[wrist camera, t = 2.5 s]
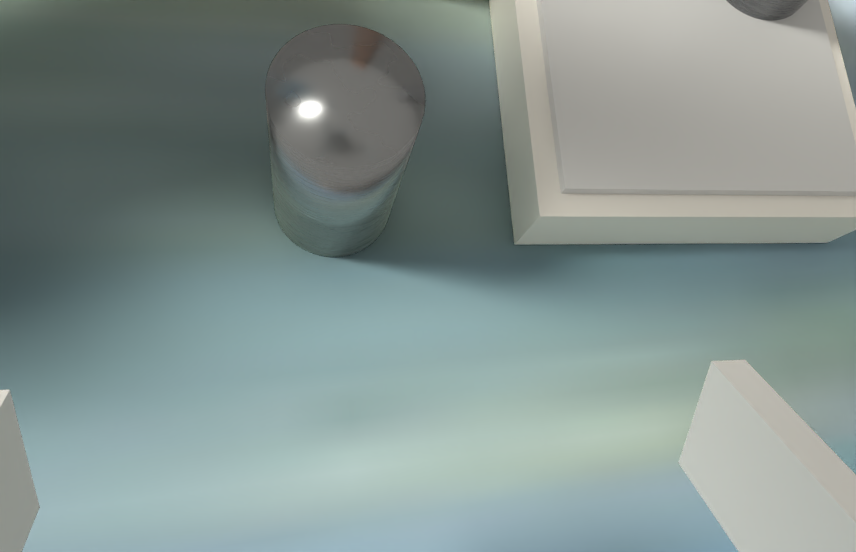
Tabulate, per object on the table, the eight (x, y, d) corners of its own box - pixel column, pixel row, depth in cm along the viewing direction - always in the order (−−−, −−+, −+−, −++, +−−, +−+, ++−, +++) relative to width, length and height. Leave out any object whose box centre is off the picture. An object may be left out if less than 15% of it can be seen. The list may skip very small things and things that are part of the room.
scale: (514, 244, 31) (544, 211, 28) (483, -54, 36) (505, -117, 32) (838, 242, 35) (904, 213, 31) (773, -32, 39) (824, -87, 35)
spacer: (273, 257, 29) (265, 165, 21) (273, 148, 31) (264, 19, 22) (392, 256, 30) (430, 167, 22) (387, 150, 32) (420, 28, 23)
